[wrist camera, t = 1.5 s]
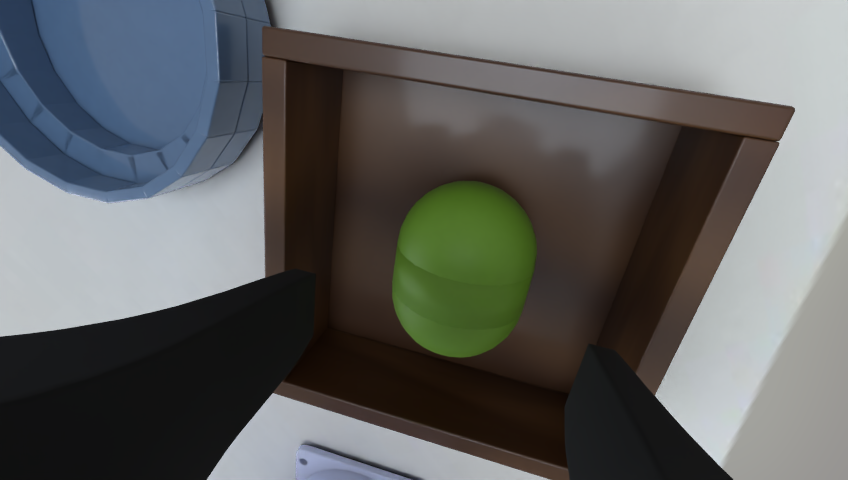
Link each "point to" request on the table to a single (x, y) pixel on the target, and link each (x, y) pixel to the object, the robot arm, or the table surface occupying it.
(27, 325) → the table surface
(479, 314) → the lime
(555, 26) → the table surface
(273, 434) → the table surface
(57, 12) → the bowl
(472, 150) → the crate
